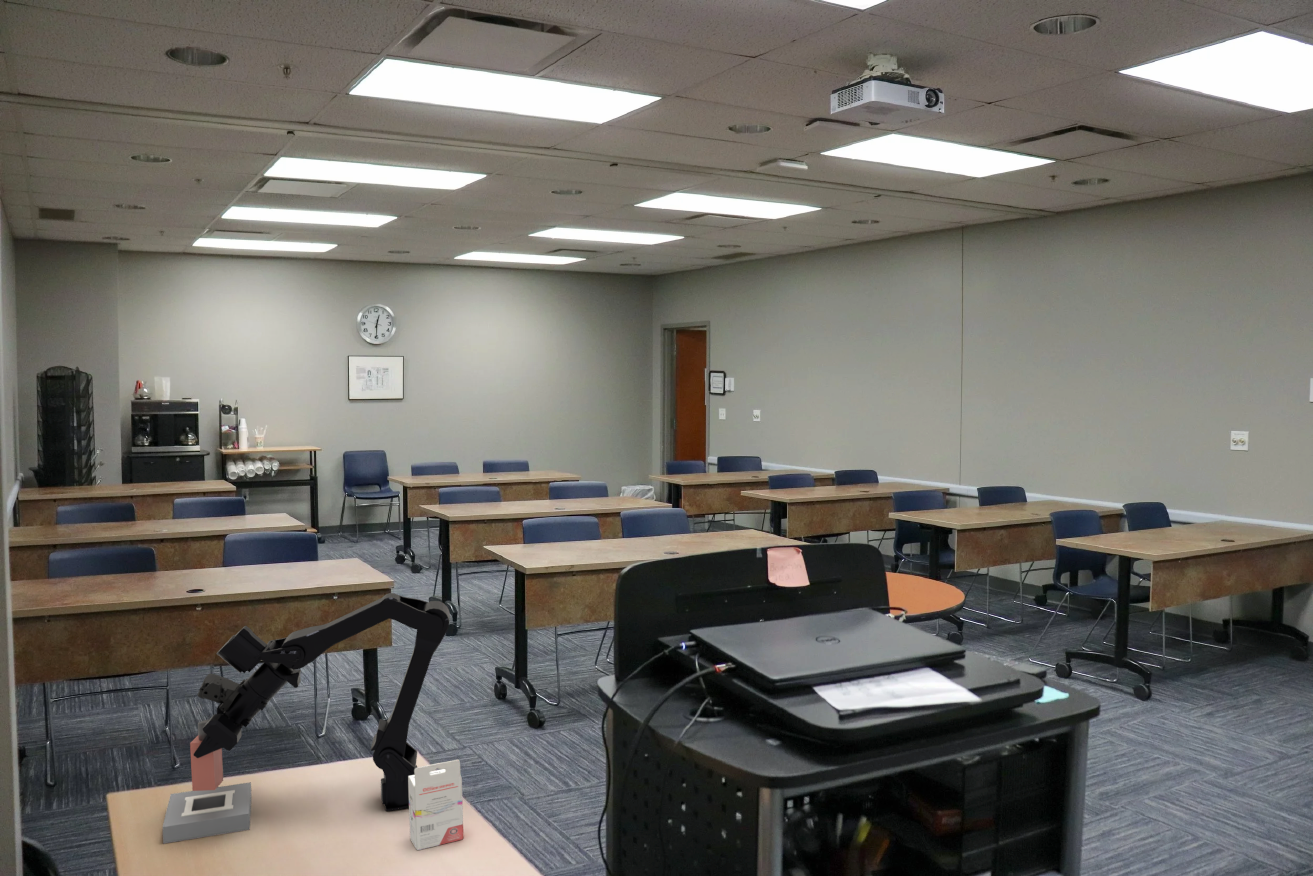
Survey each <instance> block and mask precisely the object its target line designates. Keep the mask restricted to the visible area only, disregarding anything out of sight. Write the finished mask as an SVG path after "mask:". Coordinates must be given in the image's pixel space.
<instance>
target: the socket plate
mask: <svg viewBox="0 0 1313 876" xmlns="http://www.w3.org/2000/svg"><path fill="white" fill-rule="evenodd" d="M251 809H252V782H243V783H237V784H229V785H222V786H218V787H217V788H216V790H204V791H192V790H188V791H183V792H182V791H181V792H176V793H175V792H174V793H170V795H169V800H168V804H167V808H166V811H165V815H164V820H163V823H162V843H163V845H164V844H169V843H175V842H176V843H177V842H181V841H188V840H193V839H201V838H206V837H213V836H219V835H225V834H230V833H231V834H232V833H237V832H243V831H249V830H250V826H251V812H252V810H251Z"/></svg>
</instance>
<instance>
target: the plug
mask: <svg viewBox="0 0 1313 876" xmlns="http://www.w3.org/2000/svg"><path fill="white" fill-rule="evenodd" d="M208 720H209V719H205V720H201V721H199V722H198V723H197V736H195V738H194V739H193V740H192V741H190V742H189V747H190V767H191V768H190V769H191V770H190V771H191V785H192V788H191V789H192V790H191V791H204V790H216V788H217V787H220V785H221V784H222V783H223V782H224V770H223V769H224V768H223V767H224V766H223V765H224V764H223V748H221V749H219V750H216V751H214V752H211V753H209V754H207V755H204V756H202V757H200V758H196V757H195V756H194V755H193V754H194V753H195V751H196V750H197V748H198V747H199V745H200V744H201V742H202V741H203V739H204V738H205V736H206V735H207V734H206V733H205V732H204V731H203V729H202V728H203V727H204V726H205V724H206V723H207V721H208Z"/></svg>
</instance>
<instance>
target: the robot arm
mask: <svg viewBox="0 0 1313 876" xmlns="http://www.w3.org/2000/svg"><path fill="white" fill-rule="evenodd" d="M389 619H390V620H392V621H393V620H394V621H396V622H398V623H400V624H402V625H403V626H407V627H408V628H411V629H414V630H416V633H415V634H416V636H415V642H414V646H413V650H412V654H411V656H410V659H409V662H408V665H407V668H406V671H405V674H404V677H403V679H402V682H401V686H400V688H399V691H398V695H397V697H396V701H395V703H394V707H393V710H392V712H391V714H390V715H389V716H388V719H387V720H384V719H382V718H380V719H379V721H378V725H377V726H378V727H377V732H375V734H374V736H373V738H372V742H371V746H370V752H373V754H372V762H374V764H375V766H376V767H377V768H378V769H379V770H382V773H383V778H381V779H380V798H381V803H382V805H384V807H385V811H386V812H391V811H396V810H404V809H409V789H408V776H410V775H415V773H414V770H415V768H417V767H418V766H417V761H418V760H417V758H418V750H417V749H415V748H414V747H413V746H411V744H410V743H409V742H407V741H408V740H407V739H408V735H409V728H410V722H411V719H412V716H413V714H414V710H415V707H416V704H417V701H418V698H419V696H420V692H421V690H422V687H423V684H424V681H425V677H426V675H427V672H428V669H429V666H430V663H431V661H432V657H433V655H434V653H436V650H437V649H438V647H439V646H440V645H441V643H442V641H443V639H444V637H445V636H446V634H447V632H448V630H449V629H450V628H449V627H450V610H449V607H448V606H447V605H446V604H445V602H441V601H439V600H431V601H426V600H422V599H419V598H414V597H408V596H403V595H400V594H397V593H394V592H393V593H392V592H389V593H387V594H384V595H383V597H381V598H378V599H377V600H374V601H372V602H369V603H368V604H366V605H364V606H362V607H359V608H358V609H356V610H353V611H351V612H349V613H347V614H345V615H343V616H341V617H338V618H336V619H334V620H332V621H331V622H327V623H324V624H320V625H314V626H309V627H305V628H302V629H299V630H295V631H293V632H291V633H290V634H288V635H287V636H286V637H283V638H276V639H272V640H269V641H268V642H267V643H266V642H265V641H264V640H262V639H261V638H260V637H259V636H257V635H256V633H254V631H253V630H252V629H251V628H250V627H248V626H247V625H244V626H243V627H242V628H241V629H240V630H239V631H238V632H237V633H236V634H234V635H231V637H230V638H229V640H227V641H226V642H225V644H224V645H223V646H221V648H220V649H219V650H218V651H217V652H216V655H217V656H219V657H220V658H221V659H222V660H223V661H224V662H226V663H227V664H228V665H229V666H231V667H232V668H233V669H234V670H236V671H237V672H238V673H239V674H241V673H243V674H245V673H246V672H247V673H250V672H252V671H253V670H254V668H255V667H257V666H258V664H260V663H261V661H262V664H261V665H260V666H259V667H258V668H256V669H255V671H254V672H253V673H252V674H251V675H250V676H249V677H248V678H246V679H243V680H241V682H239V683H238V682H237V681H234V680H231V679H229V678H226V677H224V676H221V675H218V674H215V673H208V674H207V675H206V676H205V677H204V678H203V679H204V680H203V682H202V683H201V686H200V687H199V690H198V692H197V694H196V695H197V697H198V698H199V699H203V700H209V701H211V702H213V703H214V702H215V703H218V706H217V707H216V713H214V714H213V715H212V716H211V717H210V718H209V719H207V720H208V721H207V723H206V724H205V726H204V727H203V728H202V729H203V731H204V732H205V733H206V734H207V735H206V736H205V738H204V739H203V741H202V742H201V744H200V745H199V747H198V748H197V750H196V751H195V753H194V754H193V755H194V756H195V757H196V758H200V757H202V756H204V755H207V754H209V753H211V752H214V751H216V750H219V749H221V748H222V749H225V750H226V751H228V752H229V751H232V749H233V748H234V747H236V745H237V744H238V743H239V741H240V739H241V738H242V735H243V734H242V729H243V727H244V728H247V726H249V724H250V723H251V722H252V720H253V719H254V718H255V716H256V715H257V714H258V713H260V712H261V711H263V710H264V709H265V708H266V707H267V706H268V704H269V702H270V701H271V700H272V699H273V698H274V697H275V696H276V695H277V694H278V693H279V692H280V691H281V690H282V689H283V688H284V687H285V686H286V684H287V683H289V685H290V686H292V687H293V688H295V689H298V687H299V686H300V684H301V681H302V679H301V674H302V673H301V672H302V670H301V669H303V668H305V667H306V666H307V665H309V664H311V663H312V662H313V661H315V660H317V659H318V658H319V657H320V656H322V655H323V654H324V653H325V652H326V651H328V650H329V649H330V648H332V647H333V646H334V645H337V644H339V643H341V642H342V641H345V640H347V639H349V638H351V637H354V636H355V635H357V634H358V635H359V634H360V633H362V632H364V631H366V630H369V629H371V628H373V627H374V626H377V625H378V624H381V623H383V622H385V621H388V620H389Z"/></svg>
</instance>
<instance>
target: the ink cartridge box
mask: <svg viewBox="0 0 1313 876" xmlns="http://www.w3.org/2000/svg"><path fill="white" fill-rule="evenodd" d="M414 773H415V775H410V776H408V789H409V808H408V813H409V814H408V816H409V818H408V819H409V837H410V838H409V839H410V841H411V843H412V844H413V846H414V848H415V850H417V851H420V850H424V849H425V850H426V849H429V848H432V847H437V846H441V845H444V844H450V843H454V842H457V841H461V840H463V839H464V814H463V813H464V811H463V809H464V806H463V778H462V776H461V762H460V760H459V759H453V760H449V761H443V762H442V761H441V762H438V763H434V764H428V765H423V766H417V768H415V770H414Z"/></svg>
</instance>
